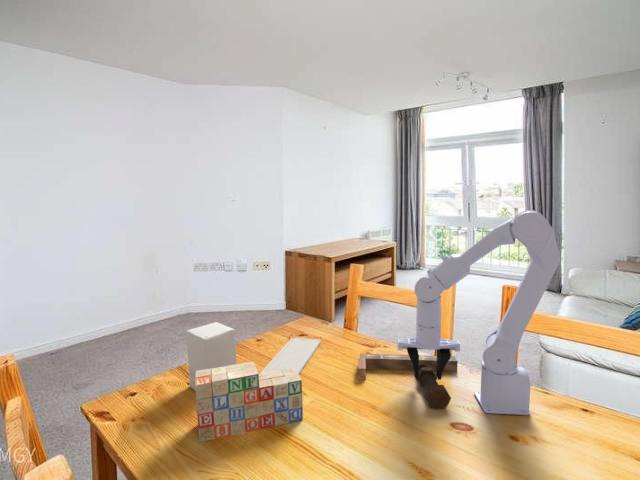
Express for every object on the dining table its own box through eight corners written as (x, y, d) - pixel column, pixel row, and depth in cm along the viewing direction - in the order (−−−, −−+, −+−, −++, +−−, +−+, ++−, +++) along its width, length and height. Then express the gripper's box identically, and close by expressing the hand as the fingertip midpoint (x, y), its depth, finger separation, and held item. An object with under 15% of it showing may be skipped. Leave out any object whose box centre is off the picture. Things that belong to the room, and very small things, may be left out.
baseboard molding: (243, 388, 93) (288, 394, 90) (243, 377, 93) (287, 383, 89) (286, 340, 123) (321, 344, 119) (286, 332, 122) (321, 335, 119)
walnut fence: (454, 366, 101) (454, 355, 101) (463, 383, 92) (463, 371, 92) (358, 363, 104) (358, 353, 104) (358, 379, 95) (357, 368, 95)
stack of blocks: (296, 405, 84) (294, 354, 83) (303, 421, 78) (302, 366, 77) (198, 424, 78) (195, 369, 76) (198, 443, 72) (194, 384, 70)
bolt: (424, 382, 97) (441, 415, 82) (408, 373, 96) (421, 404, 82) (436, 364, 96) (455, 393, 81) (419, 355, 96) (435, 382, 81)
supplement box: (239, 385, 93) (236, 328, 91) (207, 400, 87) (203, 339, 85) (220, 373, 99) (217, 320, 98) (188, 386, 93) (185, 330, 91)
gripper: (455, 319, 91) (453, 370, 93) (396, 317, 93) (395, 368, 95) (463, 329, 84) (461, 384, 86) (399, 327, 86) (398, 382, 88)
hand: (427, 377), depth 90 cm, fingers open, 5 cm apart
